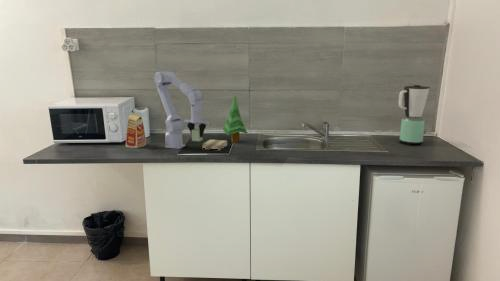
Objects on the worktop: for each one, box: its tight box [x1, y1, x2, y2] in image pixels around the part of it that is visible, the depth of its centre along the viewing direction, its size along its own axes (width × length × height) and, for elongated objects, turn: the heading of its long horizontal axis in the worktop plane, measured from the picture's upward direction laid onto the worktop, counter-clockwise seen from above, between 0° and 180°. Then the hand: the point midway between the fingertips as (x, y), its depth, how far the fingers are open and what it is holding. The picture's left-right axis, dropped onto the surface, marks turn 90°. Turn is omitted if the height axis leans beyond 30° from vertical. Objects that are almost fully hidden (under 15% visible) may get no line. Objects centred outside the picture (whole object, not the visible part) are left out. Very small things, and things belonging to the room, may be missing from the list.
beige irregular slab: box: [202, 139, 228, 151], centre depth 212 cm, size 11×11×3 cm
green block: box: [191, 128, 204, 142], centre depth 202 cm, size 4×4×6 cm
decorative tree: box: [222, 94, 248, 144], centre depth 222 cm, size 14×16×30 cm
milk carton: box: [125, 112, 147, 149], centre depth 214 cm, size 9×9×20 cm
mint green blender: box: [397, 84, 431, 146], centre depth 217 cm, size 19×13×35 cm
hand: (197, 136), depth 202 cm, fingers closed on green block, 4 cm apart
